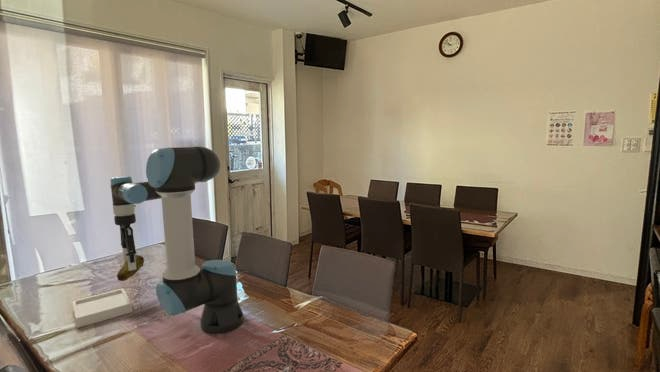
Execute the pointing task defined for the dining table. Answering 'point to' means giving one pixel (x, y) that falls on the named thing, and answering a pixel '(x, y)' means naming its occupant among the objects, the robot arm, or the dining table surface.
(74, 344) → the dining table surface
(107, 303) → the rectangular tray
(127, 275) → the potato
